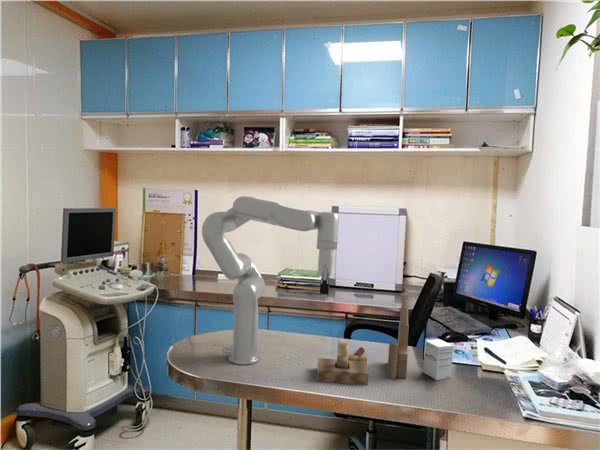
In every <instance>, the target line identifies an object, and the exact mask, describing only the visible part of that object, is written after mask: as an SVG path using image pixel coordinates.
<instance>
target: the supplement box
mask: <svg viewBox="0 0 600 450" xmlns="http://www.w3.org/2000/svg"><path fill="white" fill-rule="evenodd" d="M453 354H454V345H453V344H451V343H449V342H446V341H444V340H443V339H440V338H436V339H430V340H425V346H424V359H423V373H424V374H425V375H427V376H429V377H431V378H432V379H434V380H435V381H440V380H447V379H450V378H452V368H453V367H452V366H453V357H454V355H453Z"/></svg>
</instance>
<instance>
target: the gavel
mask: <svg viewBox="0 0 600 450" xmlns="http://www.w3.org/2000/svg"><path fill="white" fill-rule="evenodd" d="M364 353H365V347H359V348H358V349H357V350H356V351H355V353H353V354H348V360H350V361H364V362H366V364H367V363H368V358H367V356H365V355H363V354H364ZM367 365H368V364H367Z"/></svg>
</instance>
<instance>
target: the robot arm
mask: <svg viewBox="0 0 600 450" xmlns="http://www.w3.org/2000/svg"><path fill="white" fill-rule="evenodd" d="M339 219H340V217H339V214H338V213H337V212H332V211H331V212H330V211H329V212H327V211H321V212H320V211H315V210H303V209H296V208H292V207H288V206H284V205H281V204H280V203H278V202H275V201H272V200H271V201H269V200H264V199H259V198H255V197H253V196H243V195H242V196H238V197H237V198H236V199H235V200H234V202H233V203H232V207H230V208H229V209H227V210H226V211H215V212H212V213H211V214H209V215H208V216H207V217H205V219H204V222H203V223H202V225H201V235H202V240H203V242H204V243H205V246H206V247H207V249H208V250H209V252H210V253H211V255H212V257H213V259H214V260H215V262H216V263H217V266H218V267H219V269H220V271H221V272H222V274H223V275H224V277H225V278H226V279H228V280H231V281H234V280H237V281H238V282H237V283H236V285H235V286H234V287H233V290H232V302H233V330H232V331H233V333H232V345H230V346H225V345H223V346H222V348H221V351H222V352H223V354H228V359H227V360H228V361H229V362H230V363H232V364H236V365H242V366H243V365H246V366H247V365H252V364H255V363H258V362H259V361H260V360H261V354H260V353H259V352H258V331H259V305H258V304H259V303H258V299H260V298H261V297H262V296H263V295H264V293H265V292H266V282H265V280H264V278H263V276H262V275H261V273H260V271H259V269H258V268H257V267H256V264H255V263H254V261H252V259H251V257H249V256H248V255H247V254H245V253H239V252H238V253H237V251H236V250H235V247H234V246H233V245H232V242H231V241H230V240H229V239H228V238H227V237H226V235H225V233H231V232H233V231H235V230H237V229H238V228H240V227H241V226H244V224H247V223H248V222H249V221H253V222H254V221H255V222H259V223H264V224H268V225H272V226H278V227H281V228H285V229H290V230H295V231H299V232H309V231H313V230H317V235H316V237H317V238H316V249H317V250H319V252H318V260H317V261H318V263H317V276H318V277H321V278H320V284H319V294H320V295H327V296H328V295H329V292H330V291H329V289H330V283H329V280H330V279H329V277H331V275H332V270H333V264H334V263H333V262H334V251H337V250H338V235H339V234H338V233H339Z"/></svg>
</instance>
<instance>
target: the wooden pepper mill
mask: <svg viewBox="0 0 600 450" xmlns="http://www.w3.org/2000/svg"><path fill="white" fill-rule="evenodd" d="M349 349H350V341H349V340H347V339H338V340H337V353H336V356H337V357H336V359H337V368H343V369H348V355H349Z"/></svg>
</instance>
